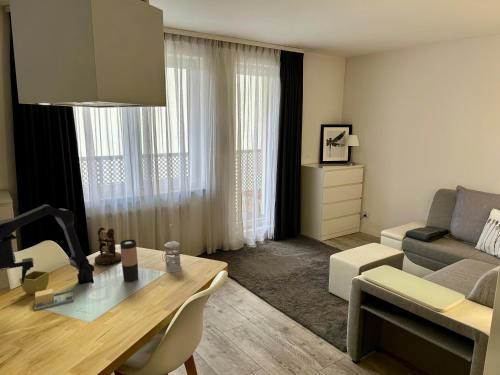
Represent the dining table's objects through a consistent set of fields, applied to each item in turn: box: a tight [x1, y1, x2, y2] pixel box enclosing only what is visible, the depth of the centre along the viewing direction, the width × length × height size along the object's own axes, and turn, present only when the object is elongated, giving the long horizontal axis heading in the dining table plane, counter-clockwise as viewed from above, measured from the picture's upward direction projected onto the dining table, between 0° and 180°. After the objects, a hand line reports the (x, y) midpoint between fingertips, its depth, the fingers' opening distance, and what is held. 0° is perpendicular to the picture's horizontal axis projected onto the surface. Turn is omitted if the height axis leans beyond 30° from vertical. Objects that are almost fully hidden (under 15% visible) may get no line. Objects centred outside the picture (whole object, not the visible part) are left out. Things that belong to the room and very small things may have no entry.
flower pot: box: [18, 270, 50, 296], centre depth 163 cm, size 9×9×9 cm
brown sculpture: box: [94, 227, 121, 266], centre depth 200 cm, size 15×15×20 cm
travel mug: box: [119, 239, 139, 283], centre depth 176 cm, size 8×8×20 cm
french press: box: [161, 224, 183, 273], centre depth 187 cm, size 10×12×25 cm
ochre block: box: [34, 288, 55, 304], centre depth 155 cm, size 7×5×4 cm
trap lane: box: [34, 289, 75, 311], centre depth 156 cm, size 15×11×1 cm
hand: (10, 285), depth 148 cm, fingers open, 9 cm apart
